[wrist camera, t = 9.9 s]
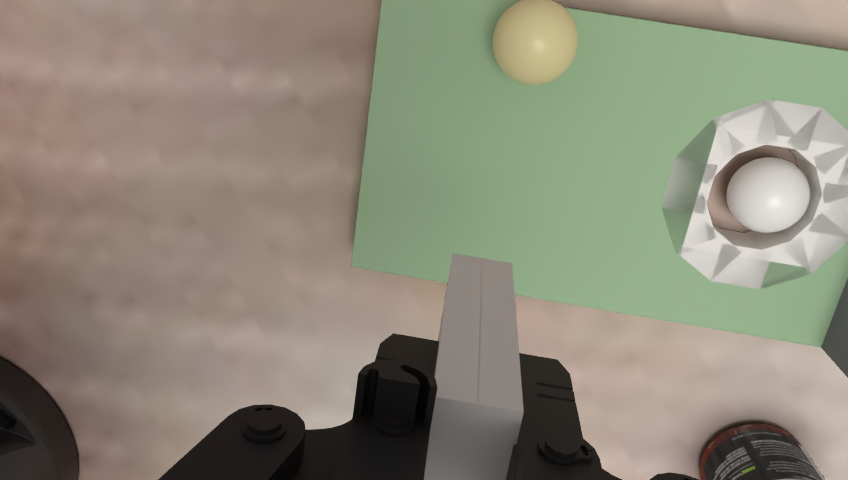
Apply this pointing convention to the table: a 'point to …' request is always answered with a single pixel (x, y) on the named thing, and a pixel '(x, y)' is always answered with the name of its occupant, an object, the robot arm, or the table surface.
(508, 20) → the yellow ball
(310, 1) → the table surface
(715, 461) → the supplement bottle
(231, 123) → the table surface
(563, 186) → the green
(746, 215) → the ball
